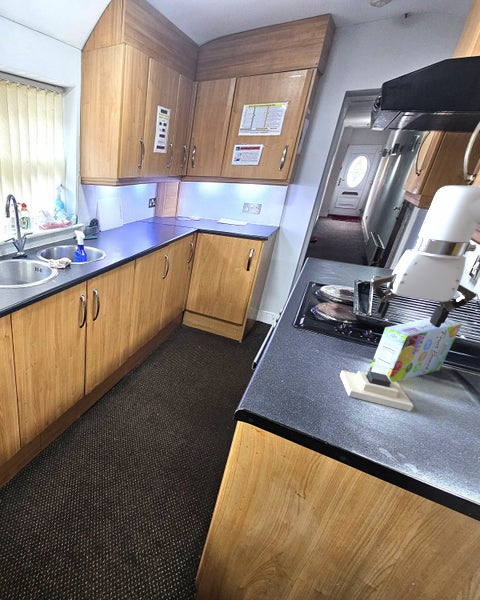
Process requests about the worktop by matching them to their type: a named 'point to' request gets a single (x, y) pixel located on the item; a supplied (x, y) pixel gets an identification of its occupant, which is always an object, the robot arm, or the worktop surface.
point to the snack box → (413, 348)
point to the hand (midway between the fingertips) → (406, 320)
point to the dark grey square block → (378, 379)
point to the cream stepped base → (375, 391)
